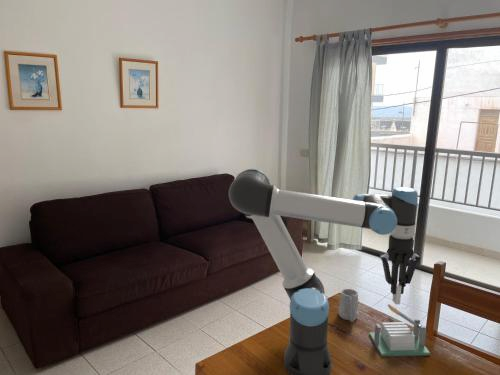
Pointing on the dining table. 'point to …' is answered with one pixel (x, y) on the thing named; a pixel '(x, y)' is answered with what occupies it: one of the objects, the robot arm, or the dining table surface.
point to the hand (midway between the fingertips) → (396, 302)
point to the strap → (404, 316)
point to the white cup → (349, 304)
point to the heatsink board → (399, 339)
